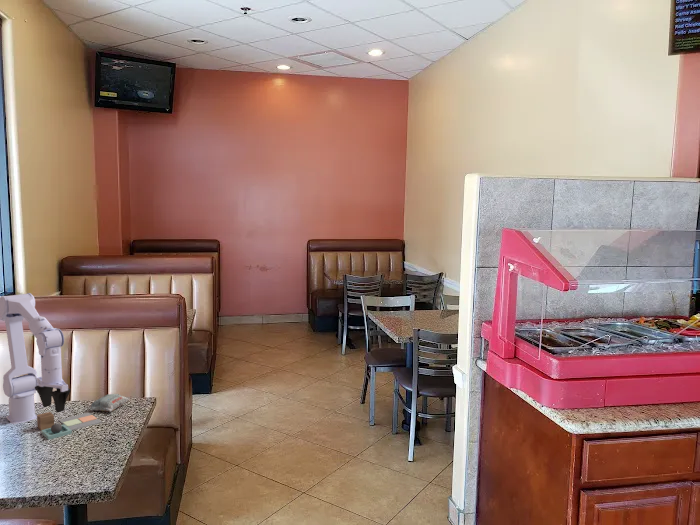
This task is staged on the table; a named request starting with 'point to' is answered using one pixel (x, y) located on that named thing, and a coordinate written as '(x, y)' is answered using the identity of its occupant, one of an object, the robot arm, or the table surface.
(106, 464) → the table surface
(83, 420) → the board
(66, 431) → the dish
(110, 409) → the packaged food
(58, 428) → the ball
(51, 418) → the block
